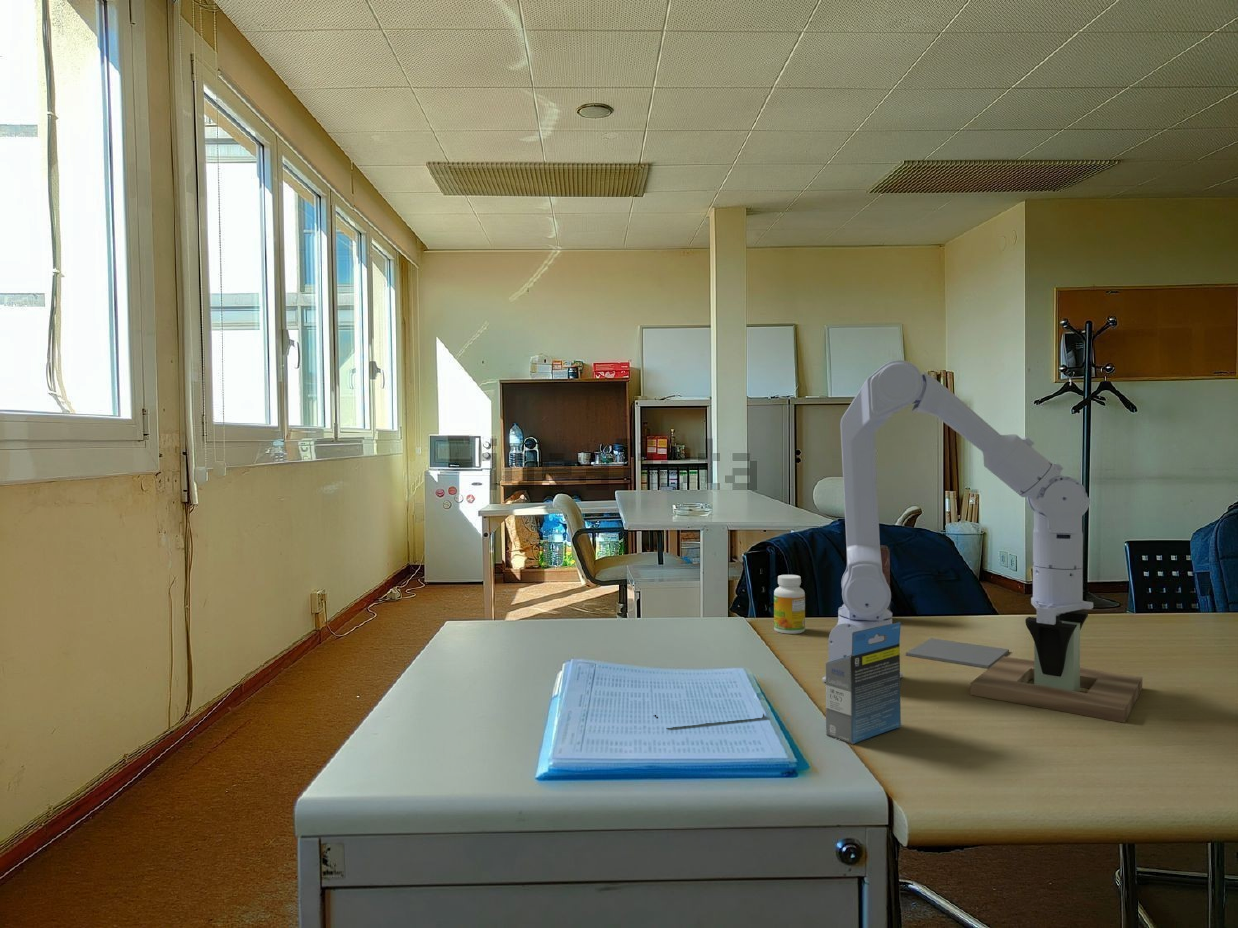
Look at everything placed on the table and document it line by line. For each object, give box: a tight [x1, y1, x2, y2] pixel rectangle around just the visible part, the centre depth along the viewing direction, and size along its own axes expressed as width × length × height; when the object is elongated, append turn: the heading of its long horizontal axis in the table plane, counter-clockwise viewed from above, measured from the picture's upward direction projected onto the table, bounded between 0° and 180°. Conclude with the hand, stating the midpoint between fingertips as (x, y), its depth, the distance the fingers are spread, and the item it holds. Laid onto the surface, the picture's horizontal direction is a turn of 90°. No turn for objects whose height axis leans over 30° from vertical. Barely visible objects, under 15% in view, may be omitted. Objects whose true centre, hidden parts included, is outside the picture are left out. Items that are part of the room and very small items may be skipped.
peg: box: [1033, 621, 1081, 692], centre depth 103 cm, size 4×4×9 cm
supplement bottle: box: [773, 574, 806, 635], centre depth 138 cm, size 5×5×10 cm
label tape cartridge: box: [825, 621, 902, 745], centre depth 88 cm, size 9×4×12 cm, turn 126°
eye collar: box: [969, 655, 1143, 724], centre depth 103 cm, size 17×17×2 cm
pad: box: [905, 638, 1010, 669], centre depth 122 cm, size 12×12×1 cm
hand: (1057, 669), depth 103 cm, fingers open, 6 cm apart
